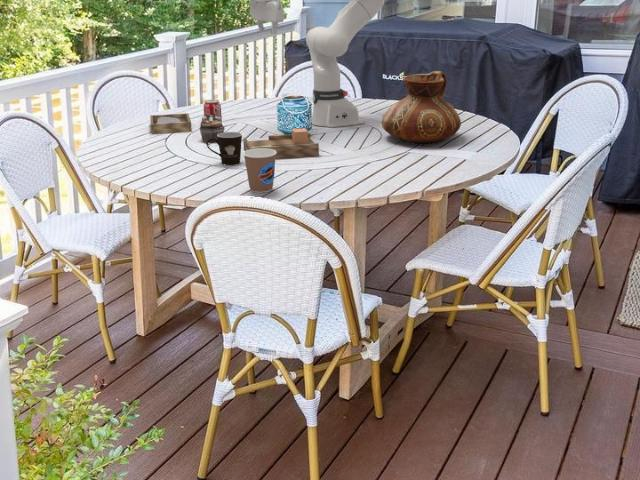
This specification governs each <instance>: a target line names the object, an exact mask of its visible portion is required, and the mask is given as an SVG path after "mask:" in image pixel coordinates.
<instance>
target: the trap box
mask: <svg viewBox="0 0 640 480" xmlns="http://www.w3.org/2000/svg"><path fill="white" fill-rule="evenodd" d="M310 135H311V134H310V132H309V133H308V142H301V143H294V141H293V140H292V133H291V134H277V135H276V134H274V135H268V139H259V140H248V139H247V137H243V142H242V143H243V144H242V145H243V150H244V151H247V150H250V149H257V148H266V149H272V150H275V151H276V152H277V153H276V154H275V155H276V156H275V160H280V159H294V158H295V159H296V158H307V157H308V158H309V157H312V158H313V157H319V156H320V152H319V151H320V144H319V143H318V142H316V143H315V142H314V141H313V140H312V138H311V136H310ZM244 151H243V152H244Z"/></svg>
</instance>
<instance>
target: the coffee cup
mask: <svg viewBox="0 0 640 480" xmlns="http://www.w3.org/2000/svg"><path fill="white" fill-rule="evenodd" d="M276 153H277V152H276V151H275V150H272V149H266V148H257V149H250V150H247V151H243V153H242V154H243V156H244V163H245V168H246V169H245V170H246V175H247V180H248V186H249V189H250V190H249V191H251V192H252V193H255V194H256V193H258V194H264V193H263V192H265V193H269V192H272V191H273V187H274V179H275V173H276V172H275V171H276V170H275V169H276V165H275V164H276V159H275V156H276V155H275V154H276Z"/></svg>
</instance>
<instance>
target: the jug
mask: <svg viewBox="0 0 640 480" xmlns="http://www.w3.org/2000/svg"><path fill="white" fill-rule="evenodd" d="M402 81H403V82H404V84H405V87H406V89H407V92H408V94H407V95H406V97H404V98H402V99H400V100H398V101H397V102H394V103H393V104H392V105H390V107H389V108H388V109H387V111H386V112H385V113H384V115H383V116H382V121H381V125H382V126H381V127H382V128H383V130H384V131H385V132H386V133H388V134H389V135H390V136H391V137H393V138H395V139H397V140H399V142H402V143H406V144H411V145H420V146H421V145H422V146H423V145H425V146H426V145H436V144H440V143H443V142H445V141H446V140H448V139H450V138H452V137H453V136H454V135H455V134H456V133H458V131H459V130H460V129H461V124H462V121H461V118H460V116H459V114H458V112H457V110H456V109H455V107H454V106H453V105H452V104H451V103H450V102H448V101H446V100H445V98H444V95H445V90H446V89H447V86H448V85H447V83H448V79H447V75H446V72H443V71H440V70H439V71H438V70H437V71H436V70H433V71H432V72H429V73H417V74H409V75H406V76H404V77H403V78H402Z"/></svg>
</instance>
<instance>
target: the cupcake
mask: <svg viewBox="0 0 640 480" xmlns="http://www.w3.org/2000/svg"><path fill="white" fill-rule="evenodd" d="M220 119H221V117H219V115H215V116H213V115H212V114H210V115H207V116H204V115H203V116H202V117H201V122H200V123H199V124H200V125H199V132H200V136H201V140H202V142H203V143H206V142H207V141H208V140H210V139H215V140H218V138H217V135H218V134H220V133H224V132H225V126H224V125H223V121H222V122H221V121H220ZM214 143H215V141H210V142H209V143H208V144H214ZM215 144H216V143H215Z"/></svg>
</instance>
